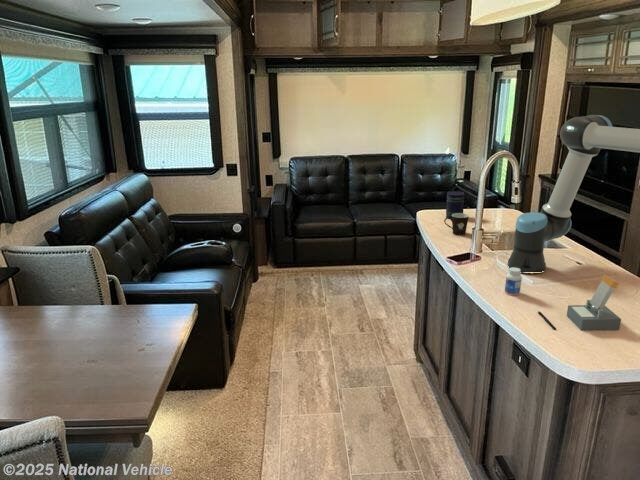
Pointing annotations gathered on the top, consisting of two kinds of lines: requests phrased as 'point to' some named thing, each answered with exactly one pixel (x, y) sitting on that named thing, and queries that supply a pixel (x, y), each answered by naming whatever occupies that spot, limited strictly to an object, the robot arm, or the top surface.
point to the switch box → (593, 318)
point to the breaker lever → (602, 293)
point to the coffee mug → (459, 223)
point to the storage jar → (454, 203)
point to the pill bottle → (513, 281)
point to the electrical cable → (546, 320)
